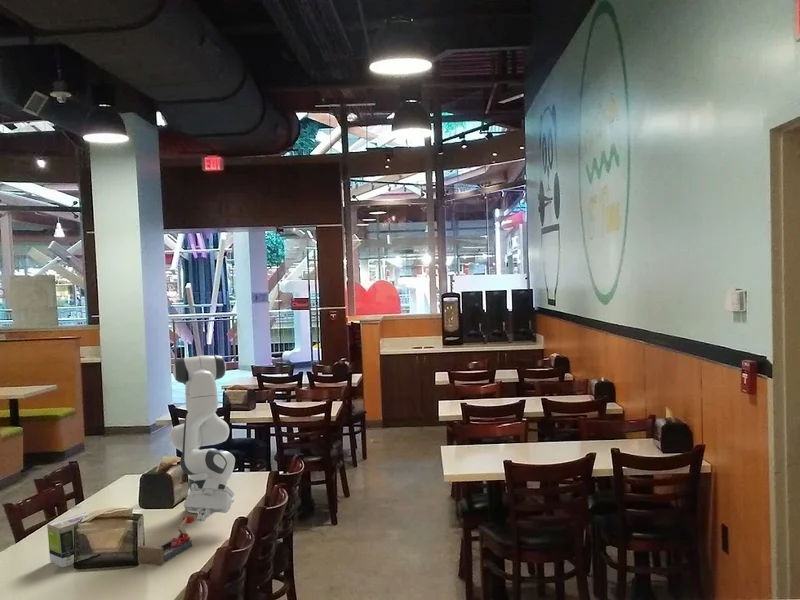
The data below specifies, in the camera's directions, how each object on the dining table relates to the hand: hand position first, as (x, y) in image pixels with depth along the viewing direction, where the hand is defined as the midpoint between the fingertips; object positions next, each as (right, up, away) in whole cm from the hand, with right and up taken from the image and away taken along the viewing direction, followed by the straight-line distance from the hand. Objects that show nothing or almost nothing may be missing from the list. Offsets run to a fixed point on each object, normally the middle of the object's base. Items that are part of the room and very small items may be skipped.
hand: (200, 520), depth 285 cm
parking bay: (-7, -7, -19) cm, 21 cm away
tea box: (-41, -9, -18) cm, 46 cm away
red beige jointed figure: (-4, -7, -10) cm, 13 cm away
